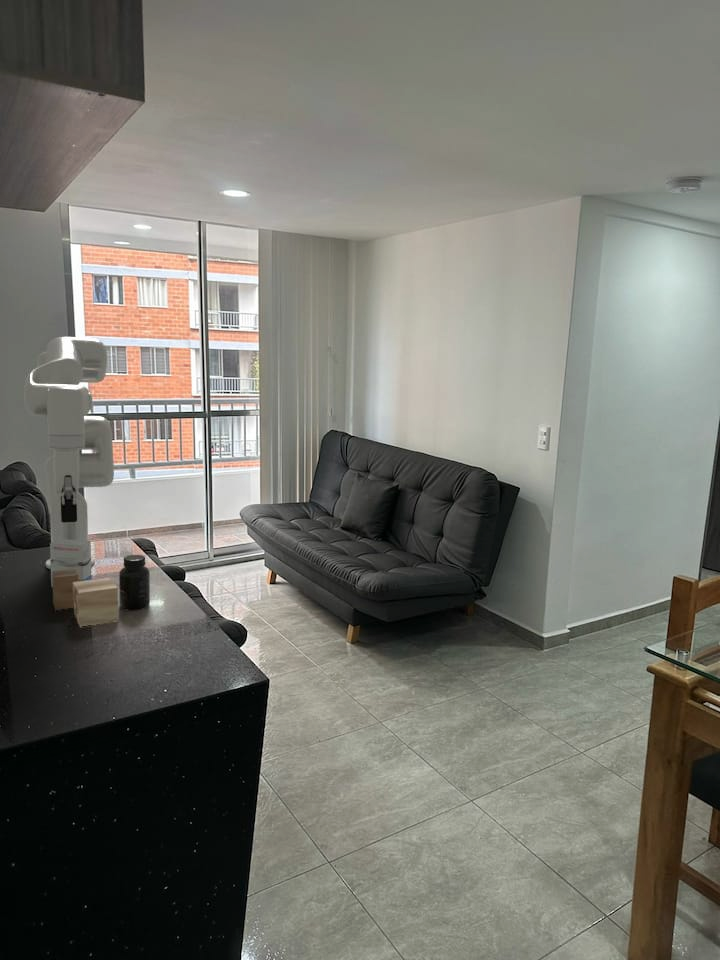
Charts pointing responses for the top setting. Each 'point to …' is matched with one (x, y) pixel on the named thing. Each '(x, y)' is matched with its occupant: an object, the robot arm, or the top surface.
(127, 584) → the supplement bottle
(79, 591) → the upper maple slab
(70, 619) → the top surface
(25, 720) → the top surface
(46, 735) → the top surface
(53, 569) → the ink box
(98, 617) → the lower maple slab
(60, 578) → the walnut block
